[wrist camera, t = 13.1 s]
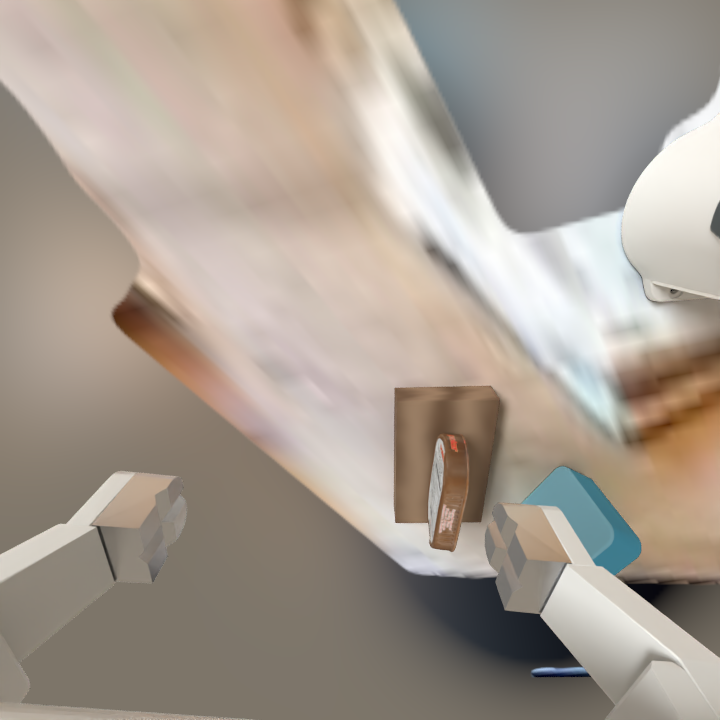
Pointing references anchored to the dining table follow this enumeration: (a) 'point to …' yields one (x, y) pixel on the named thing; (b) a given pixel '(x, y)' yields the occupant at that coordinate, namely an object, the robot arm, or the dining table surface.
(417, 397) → the walnut block
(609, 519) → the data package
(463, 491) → the tin
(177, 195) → the dining table surface
